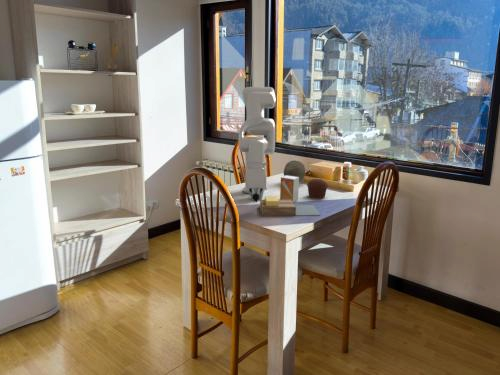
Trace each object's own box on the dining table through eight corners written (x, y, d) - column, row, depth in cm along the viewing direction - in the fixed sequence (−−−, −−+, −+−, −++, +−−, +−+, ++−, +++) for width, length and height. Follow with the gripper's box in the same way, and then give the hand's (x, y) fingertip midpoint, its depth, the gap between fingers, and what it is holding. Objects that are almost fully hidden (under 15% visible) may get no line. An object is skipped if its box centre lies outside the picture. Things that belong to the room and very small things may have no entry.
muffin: (303, 197, 232) (304, 180, 230) (310, 193, 242) (311, 176, 239) (323, 200, 227) (324, 182, 224) (330, 195, 236) (331, 178, 234)
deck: (260, 207, 213) (260, 199, 213) (290, 206, 215) (291, 199, 214) (262, 215, 200) (262, 207, 199) (295, 215, 201) (295, 207, 200)
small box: (279, 200, 226) (280, 177, 223) (285, 197, 231) (286, 175, 228) (292, 202, 222) (293, 179, 218) (298, 200, 227) (299, 177, 223)
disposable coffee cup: (263, 201, 223) (264, 174, 219) (244, 200, 225) (244, 173, 221) (266, 196, 233) (267, 170, 229) (248, 195, 235) (248, 169, 231)
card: (264, 200, 210) (264, 196, 210) (276, 200, 211) (276, 196, 210) (266, 206, 202) (266, 201, 201) (278, 205, 202) (278, 201, 201)
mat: (290, 206, 216) (290, 205, 215) (313, 205, 216) (313, 205, 216) (296, 215, 200) (296, 215, 200) (320, 215, 201) (320, 214, 201)
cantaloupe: (278, 183, 264) (279, 159, 261) (296, 180, 271) (297, 158, 267) (290, 188, 252) (291, 163, 249) (309, 185, 259) (310, 161, 255)
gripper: (270, 163, 205) (269, 199, 209) (240, 163, 204) (240, 199, 208) (272, 166, 198) (271, 203, 202) (241, 166, 197) (240, 203, 201)
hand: (255, 201), depth 205 cm, fingers closed
